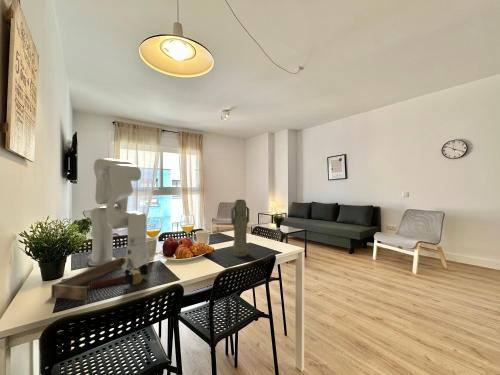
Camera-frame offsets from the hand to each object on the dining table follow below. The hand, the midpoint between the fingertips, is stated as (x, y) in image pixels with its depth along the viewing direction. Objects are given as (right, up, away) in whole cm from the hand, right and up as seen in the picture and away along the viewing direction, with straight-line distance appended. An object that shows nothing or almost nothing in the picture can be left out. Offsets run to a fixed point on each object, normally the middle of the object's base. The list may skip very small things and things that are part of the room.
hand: (137, 278), depth 97 cm
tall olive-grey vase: (+44, -2, +41) cm, 61 cm away
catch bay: (-15, -2, +3) cm, 15 cm away
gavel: (-9, -2, -2) cm, 9 cm away
